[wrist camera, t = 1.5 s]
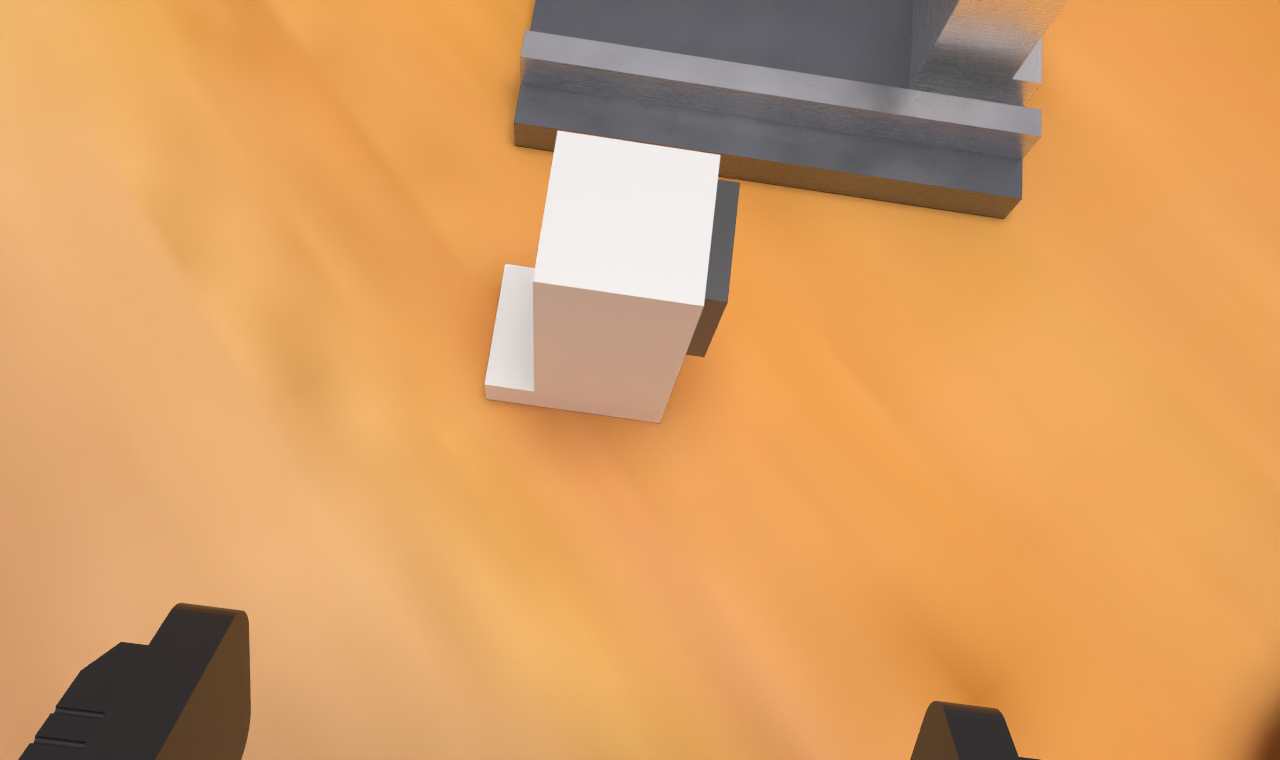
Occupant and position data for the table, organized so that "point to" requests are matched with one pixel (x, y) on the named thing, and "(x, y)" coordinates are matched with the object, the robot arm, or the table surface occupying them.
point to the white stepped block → (616, 280)
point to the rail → (802, 90)
